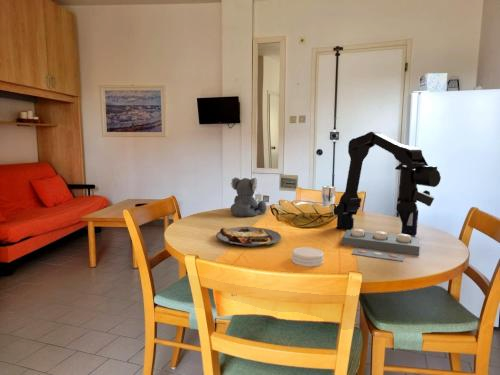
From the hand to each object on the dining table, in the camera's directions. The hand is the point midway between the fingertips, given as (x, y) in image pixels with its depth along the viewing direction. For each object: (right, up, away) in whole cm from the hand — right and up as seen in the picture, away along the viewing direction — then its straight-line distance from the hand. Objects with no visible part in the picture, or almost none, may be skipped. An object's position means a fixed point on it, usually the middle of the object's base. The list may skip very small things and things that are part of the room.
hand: (404, 226), depth 125 cm
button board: (-7, -8, +4) cm, 11 cm away
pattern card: (-12, -9, -7) cm, 17 cm away
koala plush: (-58, 0, +55) cm, 80 cm away
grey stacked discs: (-37, -10, -14) cm, 41 cm away
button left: (-15, -5, +7) cm, 17 cm away
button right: (0, -6, +1) cm, 6 cm away
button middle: (-7, -6, +4) cm, 10 cm away
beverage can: (+10, -6, +18) cm, 22 cm away
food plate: (-56, -7, +10) cm, 58 cm away
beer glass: (-16, -1, +54) cm, 56 cm away
